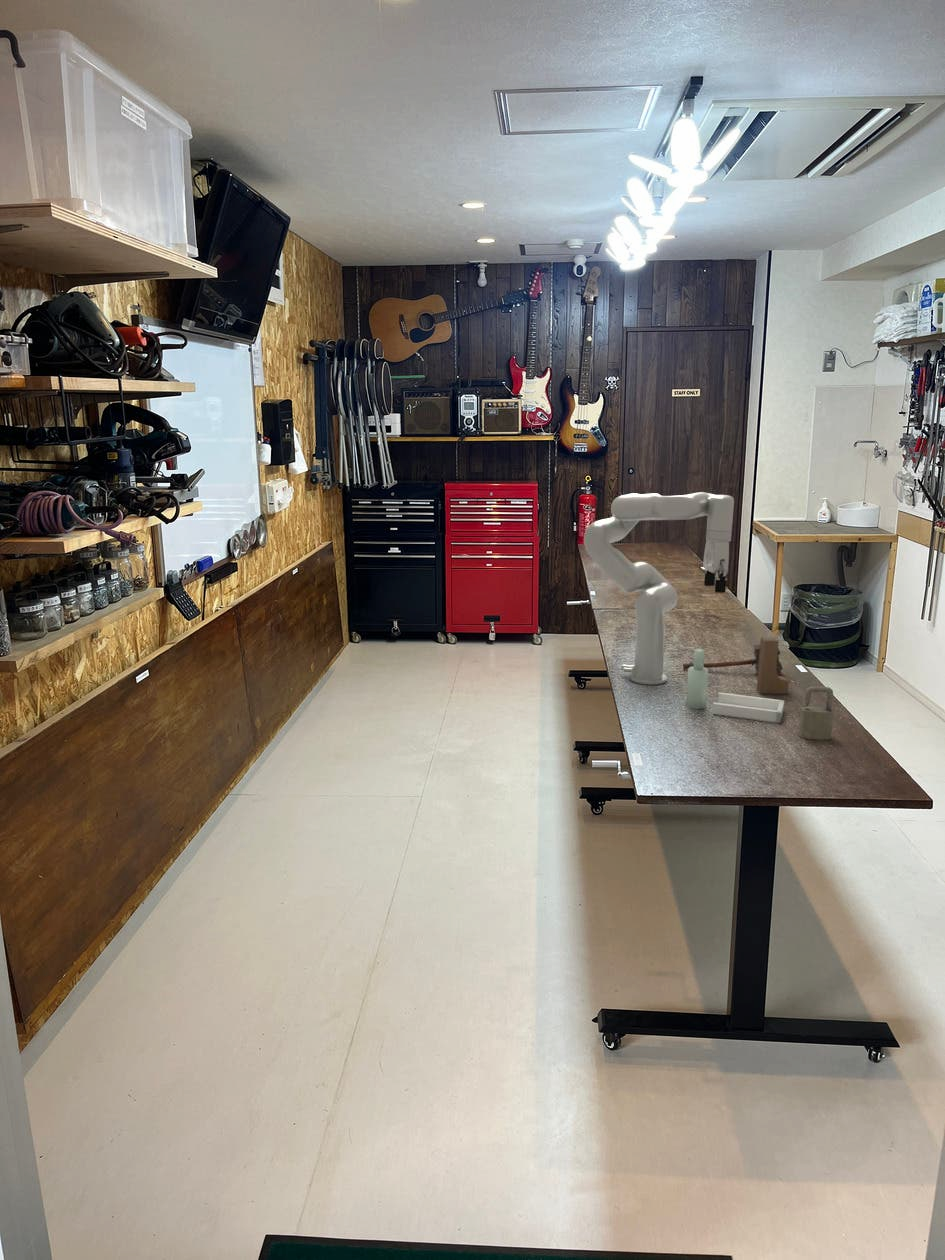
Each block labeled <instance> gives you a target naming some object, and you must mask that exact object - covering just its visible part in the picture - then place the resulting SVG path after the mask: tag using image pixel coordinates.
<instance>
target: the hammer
mask: <svg viewBox="0 0 945 1260" xmlns="http://www.w3.org/2000/svg"><path fill="white" fill-rule="evenodd" d="M753 649H754V650H753V655H754V658H751V659H749V660H735V661H724V662H709V663H704V667H705V668H707V669H709V668H710V669H711V668H712V669H713V668H722V667H723V668H724V667H725V668H726V667H735V666H745V665H751V666H754V667H755V671H756V673H757V674H758V666H759V655H760V644H755V645H753ZM779 655H781V651H780V649H779V647H778V654H777V666H776V672H777V676H782V675H783V673H782V670H783V664H782V663H781V661H780V659H779ZM692 666H694V661H693V662H692V661H691V662H689V663H683V664H682V667H683V670H688V668H689V667H692Z"/></svg>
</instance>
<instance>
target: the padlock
mask: <svg viewBox="0 0 945 1260" xmlns="http://www.w3.org/2000/svg"><path fill="white" fill-rule="evenodd" d="M812 692H815V693H816V692H817V693H818V692H819V693H827V697H826V705H825V707H820V706H809V704H810V702H811V696H812ZM804 695H805V696H804V703H805V707H801V711H800V720H799V729H798V730H799V731H798V735H799V737H800V738H802V739H807V740H830V739H832V730H833V721H834V710H833V708H832V707H833V699H834V691H833V689H832V688H831V687H828V686H815V685H814V686H810V687H808V688H806V690H805V694H804Z"/></svg>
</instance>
